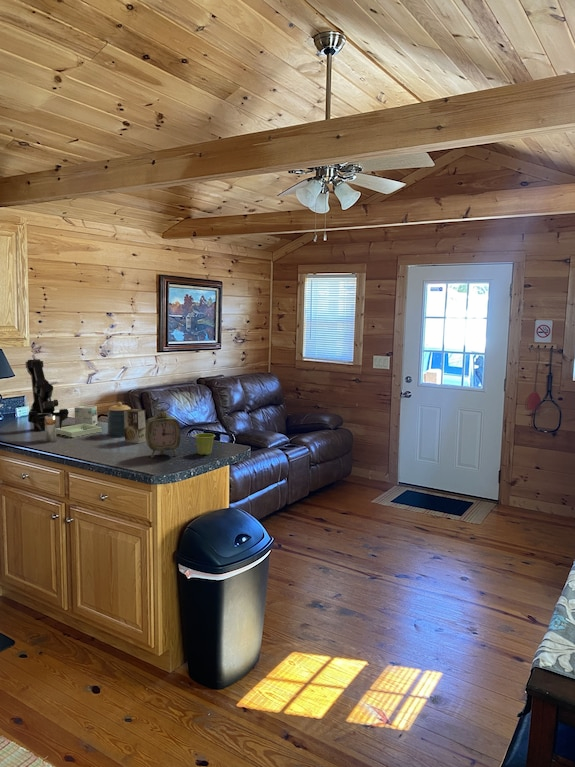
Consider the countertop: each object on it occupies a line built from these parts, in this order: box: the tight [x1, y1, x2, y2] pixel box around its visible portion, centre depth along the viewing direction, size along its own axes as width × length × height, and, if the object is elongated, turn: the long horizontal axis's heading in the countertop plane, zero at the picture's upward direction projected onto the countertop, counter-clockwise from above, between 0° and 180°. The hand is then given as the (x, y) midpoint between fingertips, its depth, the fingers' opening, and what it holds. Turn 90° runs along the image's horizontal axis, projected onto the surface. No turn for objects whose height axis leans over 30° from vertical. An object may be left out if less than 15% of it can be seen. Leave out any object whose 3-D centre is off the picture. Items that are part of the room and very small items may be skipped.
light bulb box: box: [74, 405, 98, 426], centre depth 330 cm, size 11×7×11 cm, turn 84°
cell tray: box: [56, 424, 103, 438], centre depth 309 cm, size 16×18×3 cm
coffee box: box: [124, 408, 147, 444], centre depth 291 cm, size 9×6×16 cm
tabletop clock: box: [145, 401, 181, 459], centre depth 263 cm, size 14×9×25 cm, turn 114°
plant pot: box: [194, 432, 216, 456], centre depth 269 cm, size 9×9×9 cm
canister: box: [106, 401, 132, 438], centre depth 306 cm, size 13×13×18 cm
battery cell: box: [44, 414, 57, 443], centre depth 289 cm, size 5×5×14 cm
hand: (51, 429), depth 288 cm, fingers open, 9 cm apart
